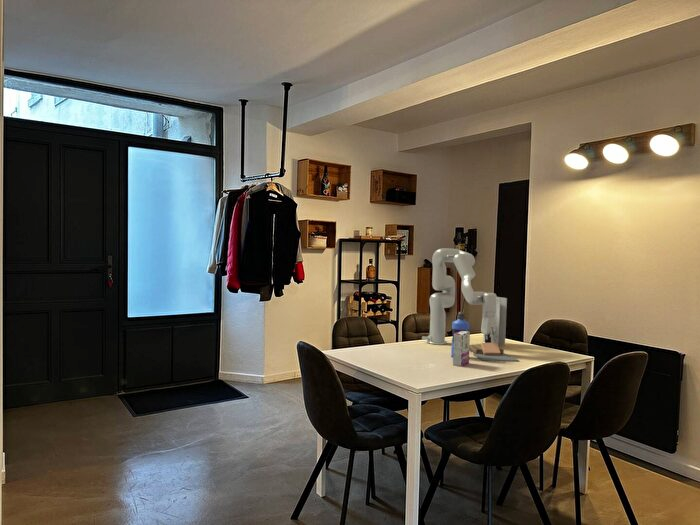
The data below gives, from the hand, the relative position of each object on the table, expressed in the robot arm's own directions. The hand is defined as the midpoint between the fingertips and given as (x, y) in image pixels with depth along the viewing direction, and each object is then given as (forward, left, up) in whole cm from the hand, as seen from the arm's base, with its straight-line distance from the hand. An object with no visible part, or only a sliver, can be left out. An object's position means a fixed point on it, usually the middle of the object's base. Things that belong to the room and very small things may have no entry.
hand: (487, 346), depth 303 cm
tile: (0, -4, -1) cm, 5 cm away
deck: (0, +3, -4) cm, 5 cm away
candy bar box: (-25, -29, -4) cm, 39 cm away
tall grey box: (+16, +32, -4) cm, 36 cm away
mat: (0, -12, -4) cm, 13 cm away
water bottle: (-20, -11, -4) cm, 24 cm away
